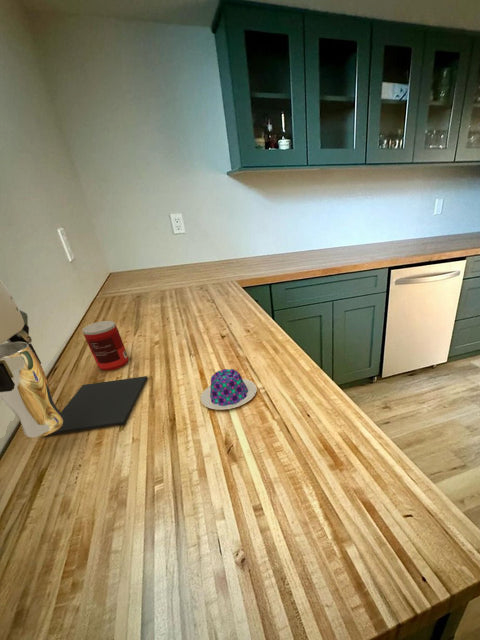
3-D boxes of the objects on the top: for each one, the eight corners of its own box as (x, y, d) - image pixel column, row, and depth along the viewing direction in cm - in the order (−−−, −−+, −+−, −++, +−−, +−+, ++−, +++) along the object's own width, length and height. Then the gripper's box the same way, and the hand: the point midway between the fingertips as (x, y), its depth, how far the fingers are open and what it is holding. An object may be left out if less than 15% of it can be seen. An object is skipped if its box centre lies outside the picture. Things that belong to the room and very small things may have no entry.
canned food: (120, 355, 95) (105, 318, 90) (135, 361, 91) (121, 323, 85) (93, 367, 90) (76, 329, 85) (108, 374, 86) (91, 334, 80)
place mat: (45, 436, 65) (43, 433, 65) (84, 387, 81) (82, 384, 80) (124, 424, 67) (123, 421, 66) (147, 378, 82) (146, 375, 82)
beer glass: (27, 421, 61) (-17, 346, 53) (71, 410, 63) (34, 337, 55) (16, 445, 55) (-35, 365, 47) (65, 432, 57) (23, 354, 50)
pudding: (240, 416, 66) (235, 394, 63) (189, 407, 70) (183, 386, 67) (266, 384, 75) (263, 364, 73) (220, 378, 79) (215, 358, 77)
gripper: (-32, 254, 52) (23, 356, 61) (-143, 285, 37) (-48, 413, 46) (20, 250, 53) (67, 351, 62) (-69, 278, 38) (10, 406, 47)
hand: (17, 377), depth 54 cm, fingers closed on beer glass, 7 cm apart
